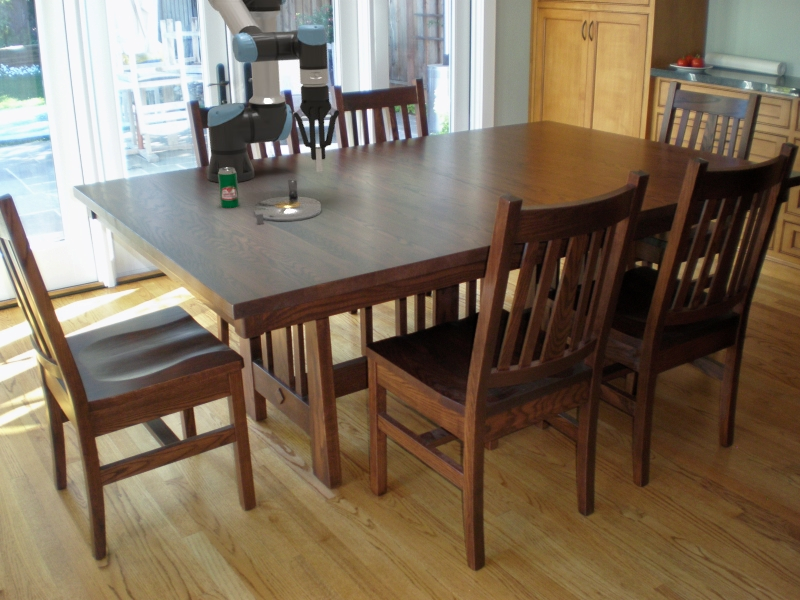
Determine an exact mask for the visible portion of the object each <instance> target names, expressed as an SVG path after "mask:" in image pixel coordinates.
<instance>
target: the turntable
mask: <svg viewBox="0 0 800 600" xmlns="http://www.w3.org/2000/svg"><path fill="white" fill-rule="evenodd" d="M287 184H288V196H278V197H273V198H272V197H271V198H268V199H267V198H266V199H263V200H261V201H258V202H257V203H255V205H254V214H255V216H256V213H263V221H264V220H265V221H270V222H298V221H304V220H309V219H311V218H315V217H316V216H318V215H320V214H321V213H322V212H321V211H322V208H321V207H322V204H321V202H320V201H319V200H318V199H315V198H313V197H312V198H311V197H306V196H299V195H298V194H299V193H298V181H297V179H288V181H287Z"/></svg>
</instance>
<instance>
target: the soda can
mask: <svg viewBox="0 0 800 600" xmlns="http://www.w3.org/2000/svg"><path fill="white" fill-rule="evenodd" d="M218 179H219V182H218V186H219V187H218V188H219V189H218V190H219V197H220V207H221V208H222V209H235V208H239V206H240V200H239V199H240V198H239V188H238V187H239V186H238V182H237V173H236V171H235V168H231V167H225V168H221V169H219V172H218Z"/></svg>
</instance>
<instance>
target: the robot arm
mask: <svg viewBox="0 0 800 600" xmlns="http://www.w3.org/2000/svg"><path fill="white" fill-rule="evenodd" d="M207 1H208V3H209V4H210V6H211V7H212V8H213V9H214V10H215V11H217V12H218V13H219V14H220V16H221V18H222V20H223V22H224V23H225V25H226V27H227V28H228V30H229V31H230V33H231V35H232V36H233V38H232V40H231V41H232V43H231V44H232V45H231V46H232V52H233V54H234V55H233V56H234V58H235V60H236V61H237V63H238V62H239V63H250V64H251V77H252V79H251V80H252V94H253V95H252V97H251V98H250V99H249V100H248V104H249V105H248V106H246V107H245V105H244V103H242V102H233V103H232V102H231V103H230V102H228V103H224V104H220V105H216V106H213V107H212V108H210V109H209V110H208V112H207V127H208V135H209V145H210V146H209V147H210V159H209V163H208V167H207V173H206V175H207V179H208V181H210V182H213V183H219V179H218V172H219V169H221V168H225V167H231V168H235V171H236V173H237V183H241V182H246V181H250V180H252V179H254V178H255V176H256V175H255V169H254V166H253V164H252V162H251V159H250V156H249V154H248V145H250V144H260V143H271V142H272V143H276V142H279V141H284V140H286V139H288V138H289V136H290V135H291V132H292V128H293V117H294V119H295V120H296V123H297V126H298V130H299V132H300V136H301V139H302V142H303V146H305V147H306V148H310V157H311V160H312V161H314V165H315V167H314V168H315V172H316V173H323V160H326V148H327V147H328V146H331V145H332V142H333V137H334V132H335V126H336V121H337V118H338V117H339V114H340V111H339V110H338V109H337V108H334V107H332V104H331V101H330V92H329V91H330V87H329V86H328V85H327V84H328V83H329V72H328V71H329V70H328V66H329V65H328V45H327V44H328V42H327V41H328V37H327V30H326V27H325V26H324V25H323V24H302V25H299V26H298V27H297V30H294V29H293V30H290V31H289V30H288V31H278V29H277V16H278V15H279V14H280V12H281V10H282V9H281V6H283V5H284V4H286V2H287V0H207ZM295 60H296V61H298V60H299V62H298V64H299V78H300V79H299V81H300V84H301V86H300V96H301V97H300V98H301V102H300V104H299V105H300V106H299V108H298V109H297V110H295V111H292V109H291V106H290V105H289V104H287V103H286V99H285V98H284V97H283V96H282V95H281V89H280V88H281V86H280V85H281V84H280V69H279V61H295ZM303 114H304V116H305V117H306V118H307V119H308V124H309V125H308V127H309V139H308V136H307V132H306V128H305V125H304V121H303V120H302V117H303ZM328 114H329V115H330V116H329V117H330V118H329V122H328V127H327V131H326V132H327V133H326V132H325V118H326V117H327V115H328ZM316 120H317V124H318V126H317V127H318V142H319V146H317V143H316V141H317V139H316V125H315V124H316ZM325 133H326V135H325Z"/></svg>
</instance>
